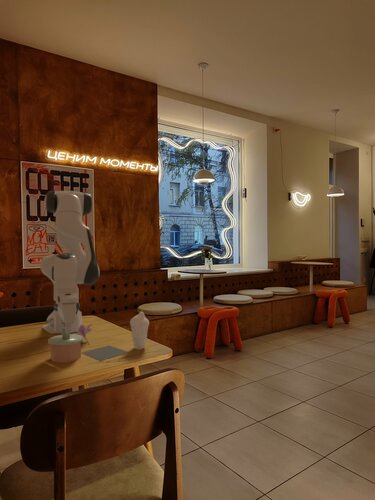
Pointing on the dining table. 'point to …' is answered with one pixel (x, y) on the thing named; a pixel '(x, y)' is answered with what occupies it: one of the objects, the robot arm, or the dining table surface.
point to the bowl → (66, 353)
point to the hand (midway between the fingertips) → (65, 330)
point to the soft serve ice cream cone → (139, 330)
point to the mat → (104, 352)
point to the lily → (84, 330)
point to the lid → (65, 339)
